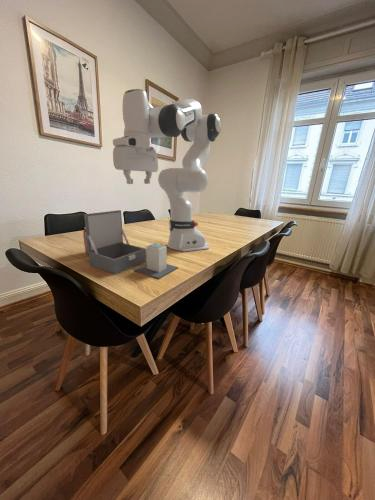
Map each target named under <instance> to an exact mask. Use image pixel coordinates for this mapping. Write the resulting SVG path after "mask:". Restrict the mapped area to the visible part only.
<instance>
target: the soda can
mask: <svg viewBox="0 0 375 500" xmlns="http://www.w3.org/2000/svg"><path fill="white" fill-rule="evenodd" d="M82 233H83V234H82V235H83V243H84V249H85V250H84V251H85V253H86V254H87V255H89V253H88V244H87V236H86V227H85V226H84V229H83V232H82Z"/></svg>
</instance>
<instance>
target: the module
mask: <svg viewBox="0 0 375 500" xmlns="http://www.w3.org/2000/svg"><path fill="white" fill-rule="evenodd" d="M167 248H168V246H167V245H162V244H159V243H152V244H149V245H146V248H145V249H146V264H147V269H151V270H154V271H157V272H160V271H162V270H164V269H166V264H167V253H168V252H167V250H168V249H167Z"/></svg>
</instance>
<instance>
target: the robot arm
mask: <svg viewBox="0 0 375 500" xmlns="http://www.w3.org/2000/svg"><path fill="white" fill-rule="evenodd" d="M202 113H203V109H202V105H201V103H200V102H199V101H198V100H196V99H193V98H183V99H179V100H177V101H175V102H174V103H171V104H167V105H164V106H157V107H153V105H151V103H150V101H149V100H148V93H147V92H146V91H145V90H143V89H141V88H140V89H138V88H134V89H129V90H125V92H124V94H123V97H122V119H123V123H124V129H123V136H122V137H117V138H114V139H113V140H112V145H113V149H112V161H113V167H114V169H116V170H119V171H122V172H123V176H124V178H125V180H126V184H127V185H133V184H134V179H133V178H132V177H131V171H132V172H133V171H134V172H145V178H144V179H143V181H144V182H143V184H145V185H146V184H147V185H150V184H151V178H152V176H153V173H157V172H158V171H159V160H158V155H157V151H156V149H155V148H154V146H151V144H150V139H155V138H177V137H179V136H181V138H182V139H183V140H184V141H185V142H189V143H190V142H191V143H192V142H193V144H191V146H190V147H189V149H188V150H187V151H186V153H185V154H184V156H183V158H182V163H181V165H182V167H168V168H165V169H162V170H161V171H159V174H158V177H157V179H158V180H157V181H158V184H159V187H160V188H161V190H163V191H164V192H165V194H166V196H167V198H168V201H169V207H170V208H169V209H170V219H169V236H168V241H167V245H166V246H167V248H169V249H172V250H175V251H180V252H191V251H192V252H193V251H201V250H202V251H203V250H208V249H210V244H209V243H208V242H206V237H205V235H204V234H203V232H201V231H200V230H199V229H198V228H197V227H198V226H199V222H197V221H195V220H193V208H194V207H193V204H192V203H191V201H190V200H188V199H187V198H186V196H185V195H184V194H185V193H190V194H191V193H192V194H195V193H201V192H204V191H205V190H206V188H207V186H208V184H209V176H208V173H207V172H206V171H205V170H204V169H203V168H204V167H205V165H206V162H207V160H208V158H209V156H210V153H211V143H213V142H215V141H216V138H218V136H219V135H220V133H221V130H222V121H221V118H220V116H219V115H218V114H217V113H208V114H202Z"/></svg>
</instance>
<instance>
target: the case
mask: <svg viewBox="0 0 375 500" xmlns="http://www.w3.org/2000/svg"><path fill="white" fill-rule="evenodd" d="M83 217H84V225H85V226H84V228H85V227H86V236H87V244H88V253H89V254H88V258H89V259H88V260H89V265H90V266H91V267H95V268H98V269H99V270H102V271H104V272H108V273H111V274H112V275H113V274H114V275H117V274H119V273H121V272H123V271H126V270H128V269H131V268H134V267H135V266H138V265H140V264H143V263H144V262H147V251H146V248H144V247H140V246H136V245H132V244H130V242H129V240H128V238H127V235H126V234H125V231H124V229H123V221H122V210H119V209H118V210H112V211H111V210H110V211H102V212H94V213H84V214H83ZM124 241H125V242H124Z"/></svg>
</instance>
